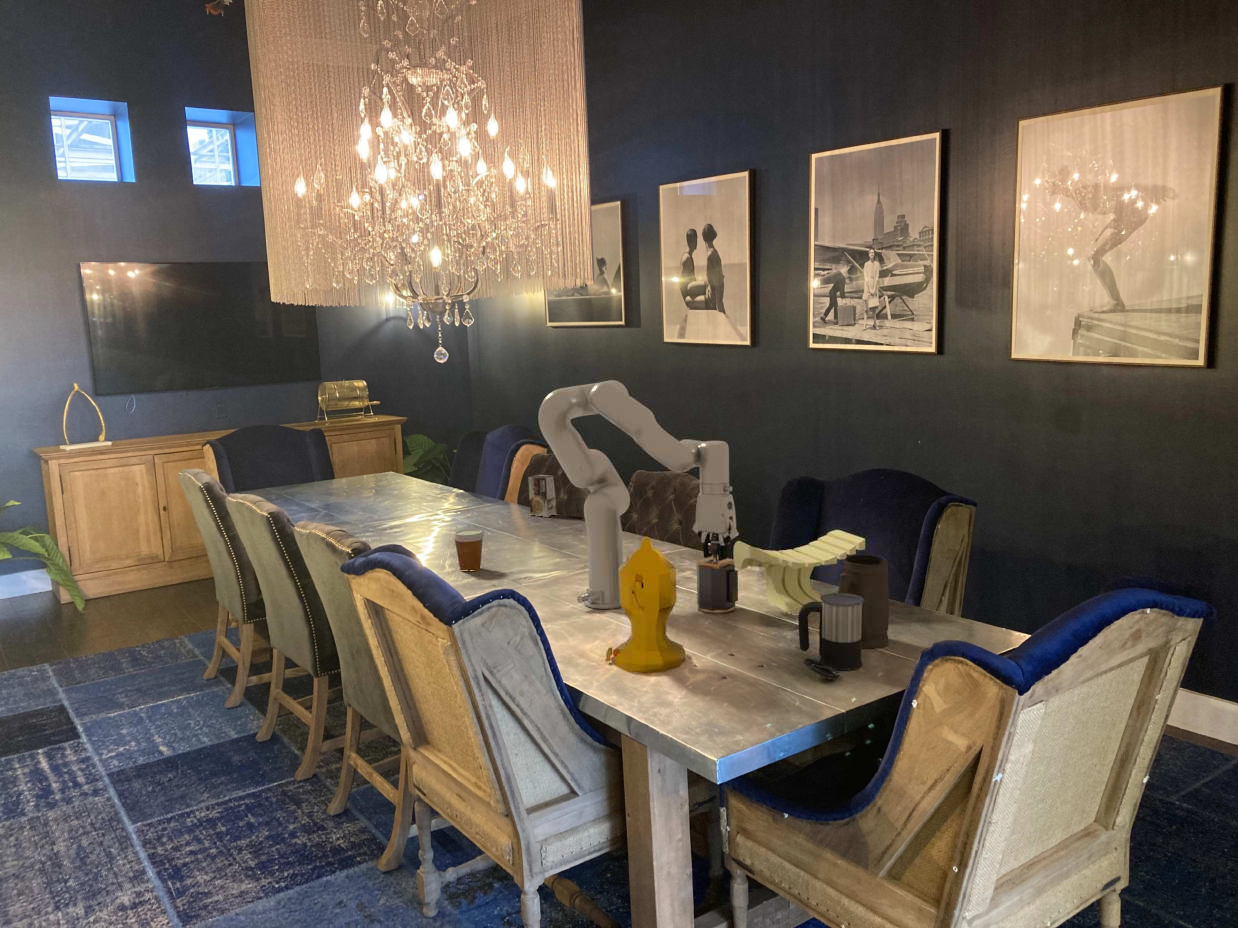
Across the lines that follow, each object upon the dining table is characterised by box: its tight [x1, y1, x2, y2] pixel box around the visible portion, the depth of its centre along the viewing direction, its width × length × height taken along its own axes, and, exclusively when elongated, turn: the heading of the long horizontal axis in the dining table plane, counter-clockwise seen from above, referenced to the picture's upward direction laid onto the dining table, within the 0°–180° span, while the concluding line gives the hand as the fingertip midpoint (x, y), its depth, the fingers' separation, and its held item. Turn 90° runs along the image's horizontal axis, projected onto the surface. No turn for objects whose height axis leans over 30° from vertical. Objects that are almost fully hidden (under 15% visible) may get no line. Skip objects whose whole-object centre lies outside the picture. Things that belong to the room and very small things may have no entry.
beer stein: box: [837, 554, 890, 649], centre depth 220 cm, size 15×11×20 cm
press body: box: [696, 556, 739, 615], centre depth 251 cm, size 10×11×13 cm
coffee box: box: [527, 474, 558, 518], centre depth 385 cm, size 9×6×16 cm
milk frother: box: [797, 592, 864, 680], centre depth 204 cm, size 14×16×15 cm
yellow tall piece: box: [604, 536, 687, 674], centre depth 213 cm, size 18×24×28 cm
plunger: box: [708, 540, 720, 562], centre depth 250 cm, size 6×6×15 cm
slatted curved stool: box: [732, 529, 866, 616], centre depth 253 cm, size 30×16×18 cm, turn 110°
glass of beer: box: [452, 528, 485, 571], centre depth 300 cm, size 10×10×12 cm
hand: (715, 557), depth 250 cm, fingers closed on plunger, 4 cm apart
